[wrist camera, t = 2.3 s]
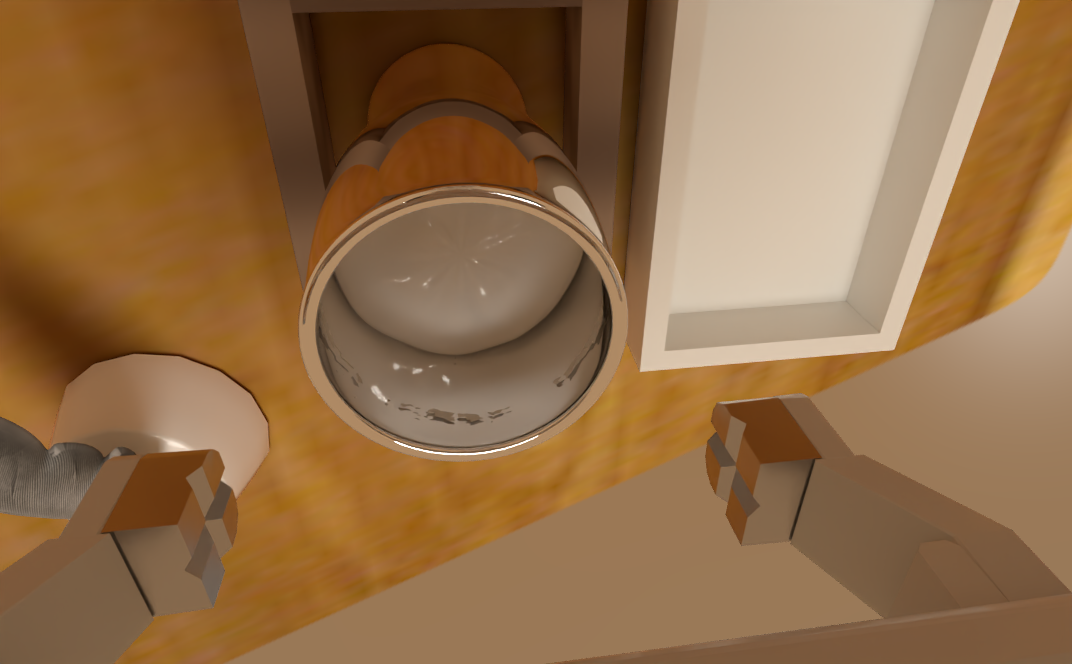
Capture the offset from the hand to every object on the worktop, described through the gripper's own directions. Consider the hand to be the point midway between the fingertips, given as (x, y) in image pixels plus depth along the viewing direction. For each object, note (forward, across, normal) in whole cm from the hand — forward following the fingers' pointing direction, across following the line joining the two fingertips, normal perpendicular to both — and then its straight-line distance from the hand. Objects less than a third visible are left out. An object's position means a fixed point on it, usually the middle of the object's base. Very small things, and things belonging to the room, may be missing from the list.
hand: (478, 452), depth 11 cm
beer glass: (+18, 0, -1) cm, 18 cm away
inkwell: (+18, +16, +9) cm, 26 cm away
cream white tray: (+18, -14, +1) cm, 22 cm away
